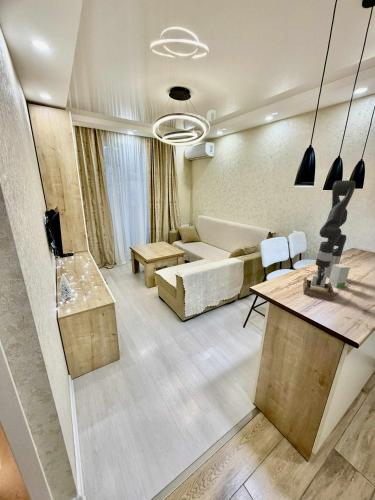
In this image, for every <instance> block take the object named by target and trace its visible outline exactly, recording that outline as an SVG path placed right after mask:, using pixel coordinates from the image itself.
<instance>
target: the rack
mask: <svg viewBox="0 0 375 500" xmlns="http://www.w3.org/2000/svg"><path fill="white" fill-rule="evenodd" d="M311 281H312V279H311V280H310V279H307V277H304V278H303V282H302V289H303V295H306V296H309V297H313V298H318V299H323V300H327V301H333V300H334V296H335V291H334V289H333V288H334V287H333V286H332V285H331V283H329V281H328V283H326V282H325V286H324V288H326V289H328V292H323V291H318V290H314V289H309V288H310V286H311Z"/></svg>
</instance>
